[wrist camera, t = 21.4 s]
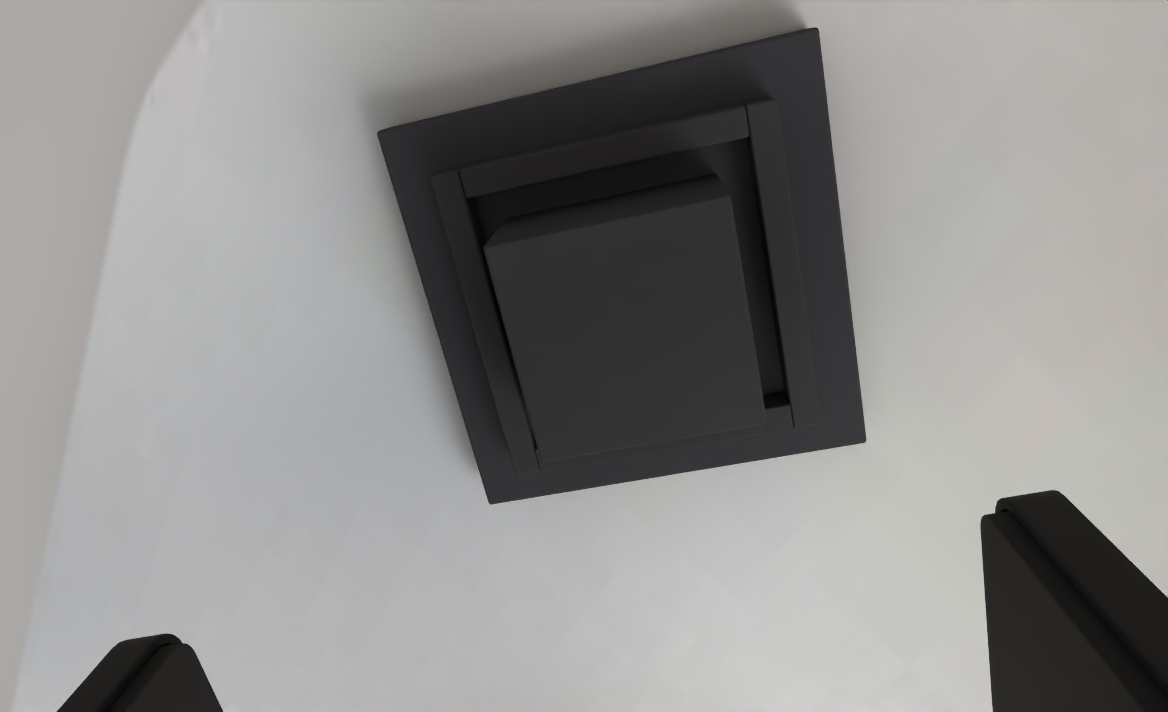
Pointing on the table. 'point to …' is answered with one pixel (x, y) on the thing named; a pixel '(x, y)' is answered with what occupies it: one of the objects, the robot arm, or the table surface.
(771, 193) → the base pad
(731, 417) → the small pad
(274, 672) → the table surface
